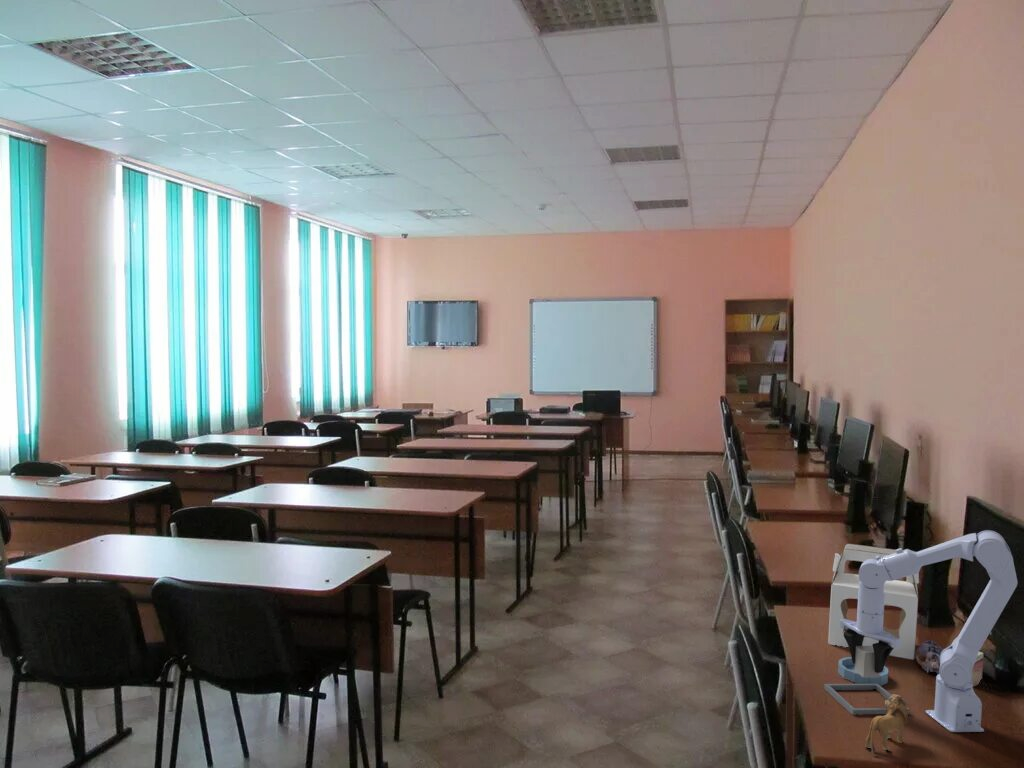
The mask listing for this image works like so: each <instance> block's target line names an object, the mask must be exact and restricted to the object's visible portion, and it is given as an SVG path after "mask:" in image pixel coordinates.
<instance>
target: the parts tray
mask: <svg viewBox="0 0 1024 768" xmlns="http://www.w3.org/2000/svg"><path fill="white" fill-rule="evenodd" d="M823 689H824V690H825V691H826V693H828V694H829V695H830V696H832V698H833V699H835V700H836V701H837V703H839V704H840V705H842V707H843V708H844V707H845V708H846V709H845V710H847V712H849V713H850V714H851V715H852V716H857V715H856V714H861V715H860V716H864V715H863V714H887V707H868V708H867V707H860V708H857V707H854V706H852V705H851V703H849V702H848V701H847V700H846V699H845V698H844V697H843V696H841V695H840V693H838V692H837V691H868V690H869V691H874V690H873V689H876V690H875V691H877V692H878V691H879V692H880V693H881V694H880V693H879V692H878V693H879V694H880V695H881V696H883V697H884V698H885V699H886V698H887V699H886V700H889V698H890V697H891V696H892V695H893V694H891V693H890V692H889V691H887V690H886V689H885V688H884V687H882V685H881V686H880V685H879V684H857V683H824V687H823ZM910 710H911V709H910V708H908V707H907V715H910Z"/></svg>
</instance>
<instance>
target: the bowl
mask: <svg viewBox="0 0 1024 768" xmlns="http://www.w3.org/2000/svg"><path fill="white" fill-rule="evenodd" d="M838 673H839V674H840V675H841V676H842V677H841V676H840V675H839V674H838ZM837 674H838V675H839V676H840V677H841V678H843V677H844V678H846V679H848V680H847V681H849V680H850V681H849V682H851V681H852V682H851V683H853V682H855V683H854V684H857V683H858V684H879V685H880V686H881V687H882V686H884V685H886V684H888V682H889V669H888V667H886V666H885V665H884V668H883V672H880V677H873V678H863V677H862V676H861V675H860V674H858V673H857V672H856V671H855V664H854V663H853V662H852V657H851V656H848V657H847V656H846V657H843V658H840V659H838V666H837ZM844 678H843V679H844ZM846 679H845V680H846Z"/></svg>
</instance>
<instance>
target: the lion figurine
mask: <svg viewBox="0 0 1024 768" xmlns="http://www.w3.org/2000/svg"><path fill="white" fill-rule="evenodd" d="M891 695H892V696H891V697H890V698H889V700H888V699H886V700H884V704H885V707H886V708H887V714H886V715H876V716H875V717H873V718H872V720H871V723H870V726H869V731H868V735H867V737H866V738H865V745H864V748H865V747H867V748H871V754H876V753H875V751H876V749H875V743H874V741H875V734H876V733H877V731H878V732H879V735H880V736H881V746H882V748H883V749H885V750H891V751H892V749H891V748H890V747H889V746H888V744H887V742H888V740H889V739H888V738H890V739H891V737H892V736H891V733H895V731H896V730H897V738H896V741H897V740H898V741H899V742H904V743H905V740H904V739H903V736H904V731H905V727H904V726H905V725H906V724H907V723H908V717H909V716H908V715H909V714H907V708H908V707H907V706H908V705H907V701H906V700H905V699H904V698H903V696H901V695H900V694H895V693H893V694H891ZM898 741H897V742H898ZM899 742H898V743H899ZM867 748H866V749H867ZM885 750H884V751H885Z"/></svg>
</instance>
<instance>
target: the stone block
mask: <svg viewBox="0 0 1024 768" xmlns="http://www.w3.org/2000/svg"><path fill="white" fill-rule="evenodd" d="M874 665H875V655H874V649H873V646H856V653H855V671H856V672H857V673H858V674H860V675H861V676H862V677H863V678H873V677H880V673H876V672H875V669H874Z"/></svg>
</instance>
